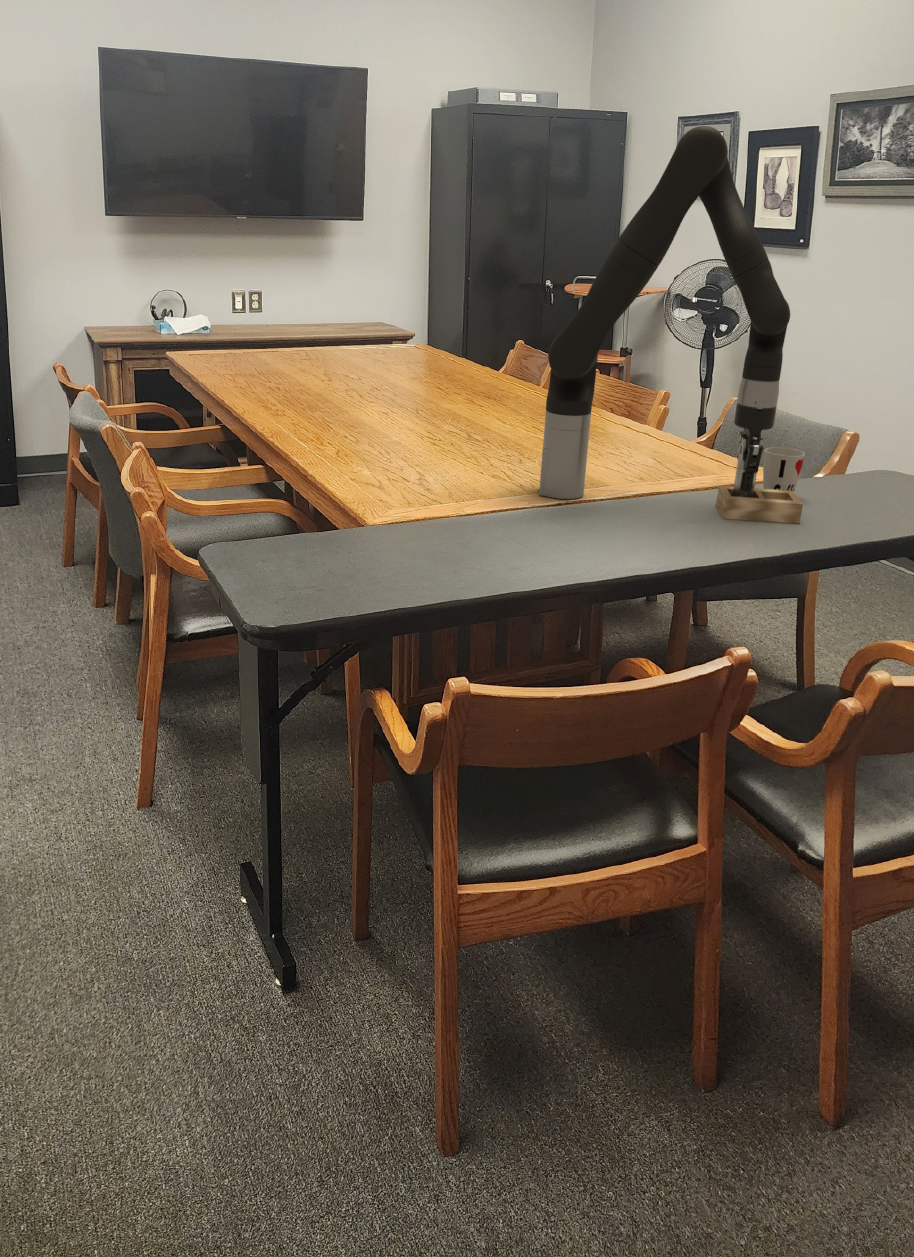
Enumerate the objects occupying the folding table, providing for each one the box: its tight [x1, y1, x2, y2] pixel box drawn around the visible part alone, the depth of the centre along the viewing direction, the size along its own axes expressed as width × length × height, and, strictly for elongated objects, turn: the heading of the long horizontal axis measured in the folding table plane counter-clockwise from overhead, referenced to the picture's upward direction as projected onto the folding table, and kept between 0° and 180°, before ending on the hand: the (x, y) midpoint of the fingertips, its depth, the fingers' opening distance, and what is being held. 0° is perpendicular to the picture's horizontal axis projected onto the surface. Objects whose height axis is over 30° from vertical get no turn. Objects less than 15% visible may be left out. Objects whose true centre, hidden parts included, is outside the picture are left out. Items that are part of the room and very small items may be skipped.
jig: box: [715, 485, 804, 525], centre depth 213 cm, size 15×10×4 cm, turn 85°
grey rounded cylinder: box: [733, 453, 758, 498], centre depth 211 cm, size 4×4×10 cm
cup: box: [762, 447, 806, 492], centre depth 224 cm, size 8×8×10 cm
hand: (743, 487), depth 212 cm, fingers closed on grey rounded cylinder, 4 cm apart
